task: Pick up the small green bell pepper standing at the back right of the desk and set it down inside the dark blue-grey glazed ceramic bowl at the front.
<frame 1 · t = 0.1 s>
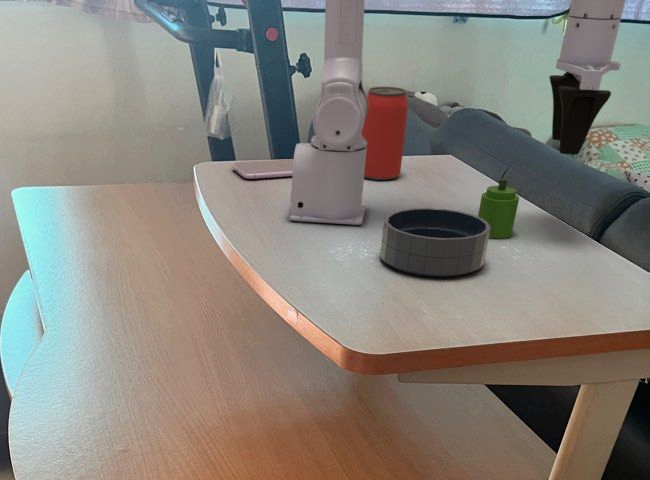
hand: (564, 146, 102), 10 cm above the table, tool pointing down, fingers open, 7 cm apart
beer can: (378, 177, 130), on the table
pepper: (493, 233, 107), on the table
bowl: (430, 261, 98), on the table
mobile phone: (282, 172, 131), on the table
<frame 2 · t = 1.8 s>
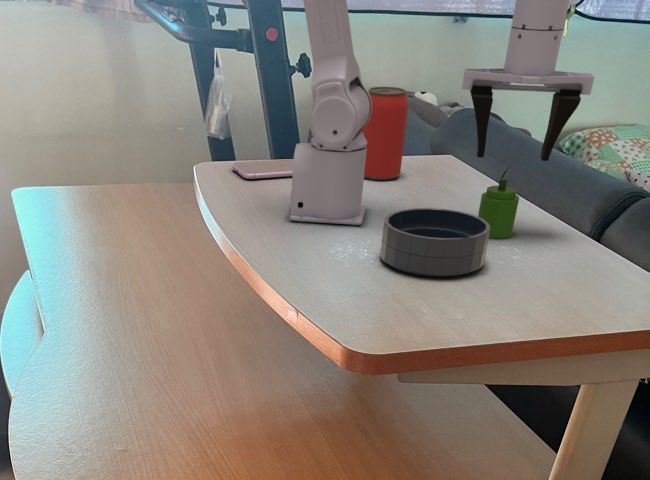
hand: (512, 157, 102), 9 cm above the table, tool pointing down, fingers open, 7 cm apart
nothing on the table moved.
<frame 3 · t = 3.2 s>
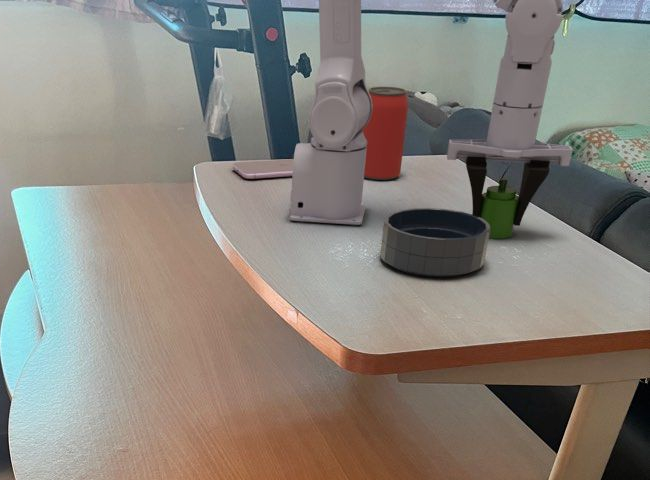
hand: (495, 222, 106), 1 cm above the table, tool pointing down, fingers closed on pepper, 4 cm apart
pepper: (493, 233, 107), on the table, touching gripper
everything else where it was.
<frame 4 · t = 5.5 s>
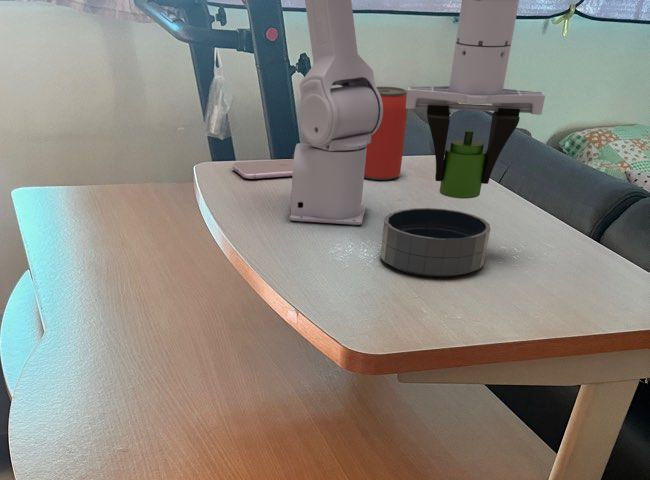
hand: (461, 180, 95), 8 cm above the table, tool pointing down, fingers closed on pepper, 4 cm apart
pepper: (459, 193, 96), point 7 cm above the table, touching gripper
everything else where it was.
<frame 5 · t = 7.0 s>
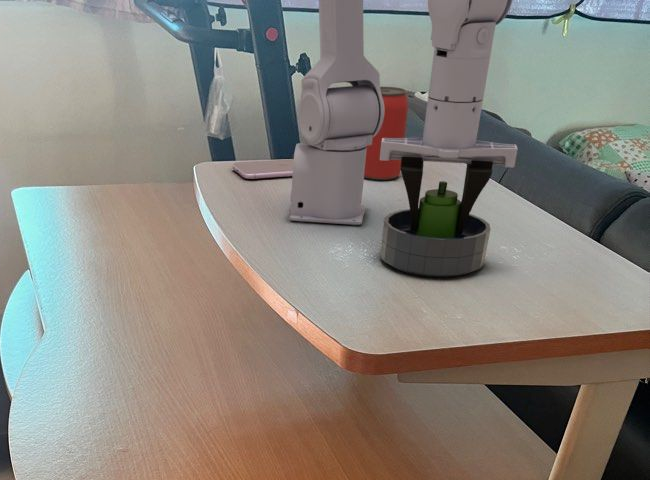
hand: (435, 229, 96), 4 cm above the table, tool pointing down, fingers closed on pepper, 4 cm apart
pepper: (434, 242, 96), point 2 cm above the table, touching gripper
everything else where it was.
when the fingers open (2 cm above the table, at t = 8.1 s): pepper stays where it is, resting on bowl.
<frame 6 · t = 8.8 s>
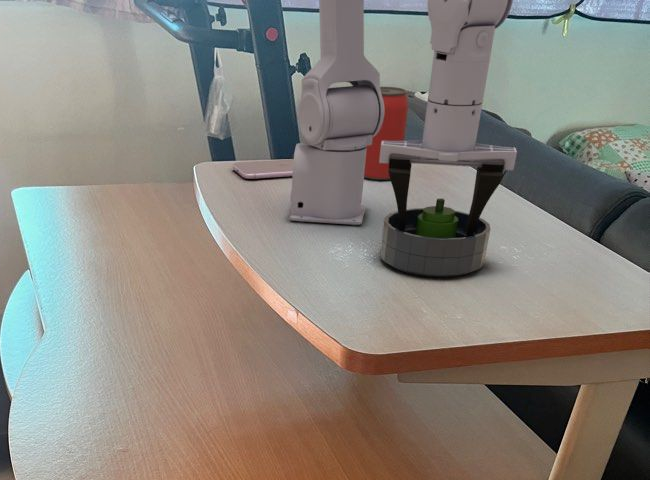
hand: (435, 232, 96), 3 cm above the table, tool pointing down, fingers open, 7 cm apart
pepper: (432, 257, 98), resting on bowl
everything else where it was.
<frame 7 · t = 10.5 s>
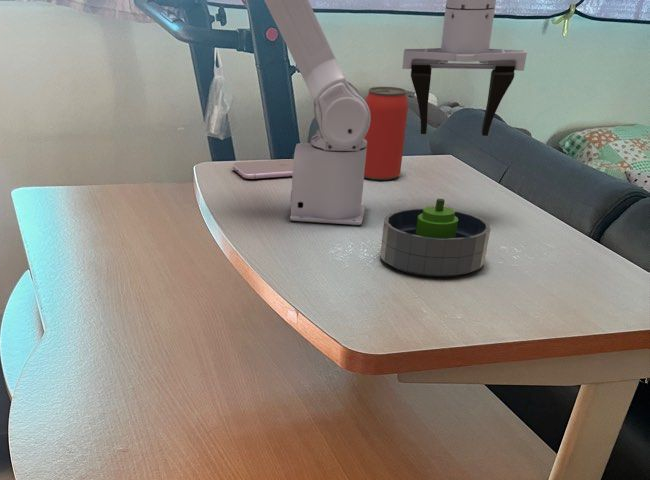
hand: (453, 133, 106), 10 cm above the table, tool pointing down, fingers open, 7 cm apart
nothing on the table moved.
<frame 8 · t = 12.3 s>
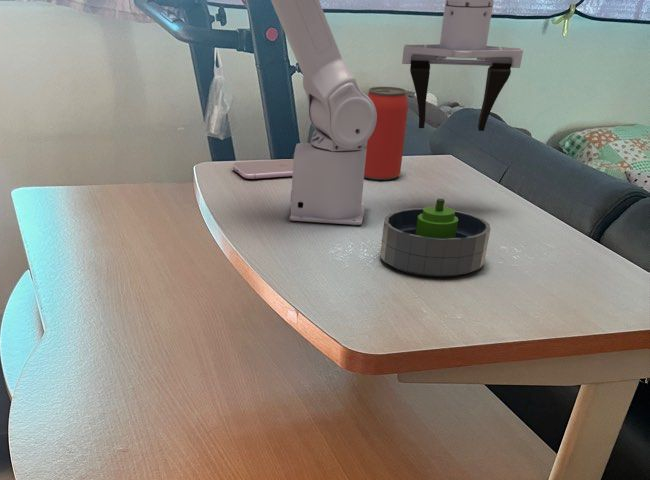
hand: (451, 128, 109), 10 cm above the table, tool pointing down, fingers open, 7 cm apart
nothing on the table moved.
at the end: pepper inside the target area in the bowl (0.1 cm from its centre), point 0.5 cm above the bowl's base; the gripper is holding nothing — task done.
